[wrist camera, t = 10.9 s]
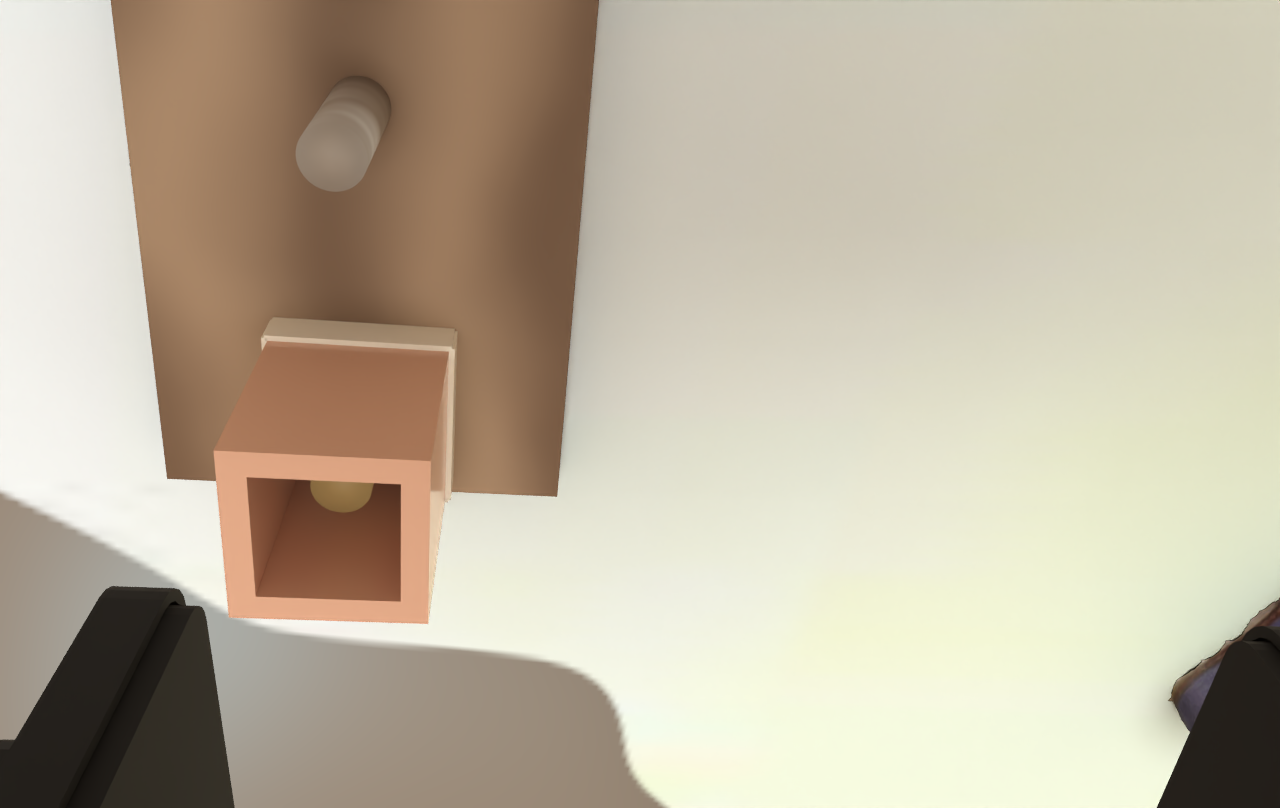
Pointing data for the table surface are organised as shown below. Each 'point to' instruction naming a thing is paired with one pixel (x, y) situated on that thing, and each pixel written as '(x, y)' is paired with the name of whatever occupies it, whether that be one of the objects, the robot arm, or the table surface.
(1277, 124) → the table surface
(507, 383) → the pin board
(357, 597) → the sleeve
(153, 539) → the table surface
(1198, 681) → the flask
